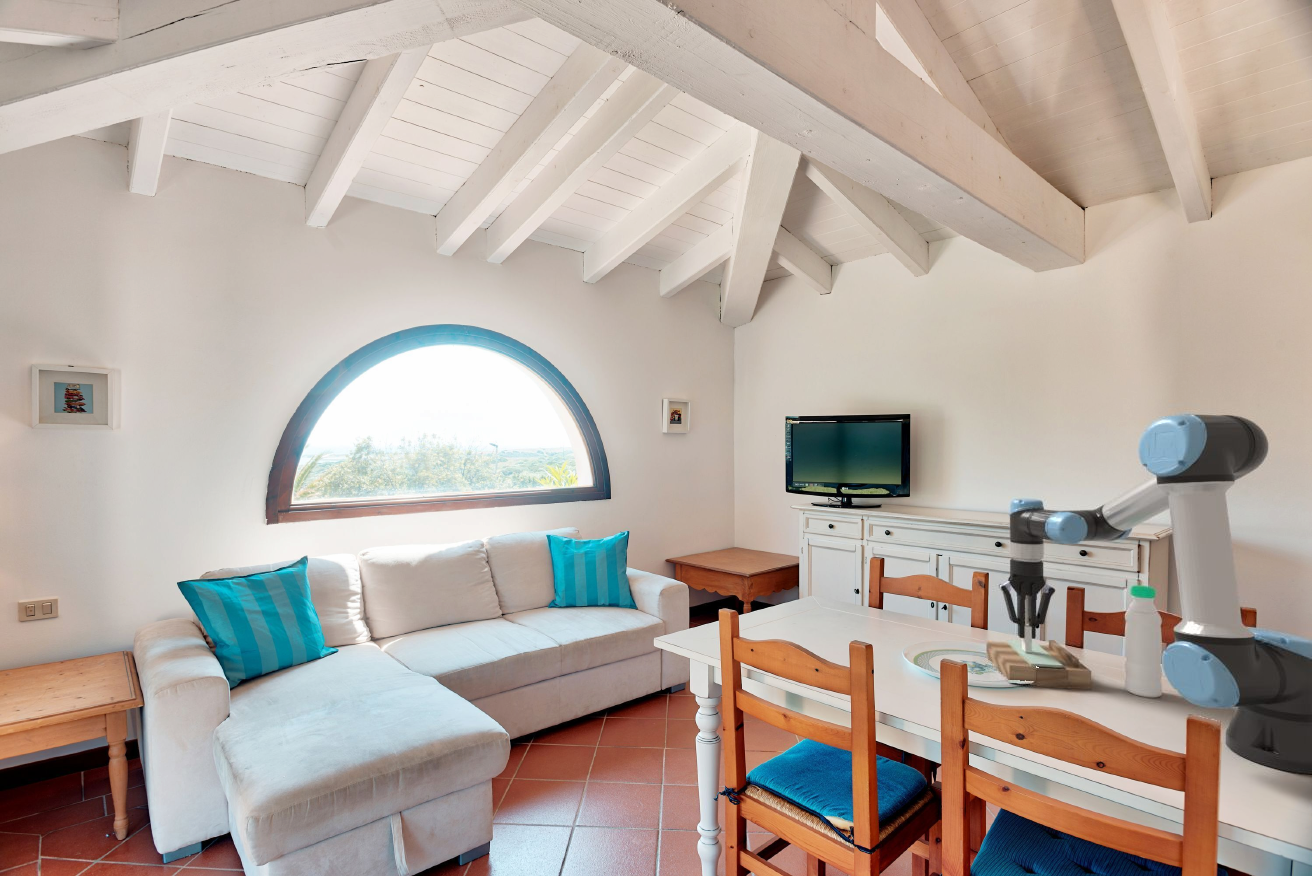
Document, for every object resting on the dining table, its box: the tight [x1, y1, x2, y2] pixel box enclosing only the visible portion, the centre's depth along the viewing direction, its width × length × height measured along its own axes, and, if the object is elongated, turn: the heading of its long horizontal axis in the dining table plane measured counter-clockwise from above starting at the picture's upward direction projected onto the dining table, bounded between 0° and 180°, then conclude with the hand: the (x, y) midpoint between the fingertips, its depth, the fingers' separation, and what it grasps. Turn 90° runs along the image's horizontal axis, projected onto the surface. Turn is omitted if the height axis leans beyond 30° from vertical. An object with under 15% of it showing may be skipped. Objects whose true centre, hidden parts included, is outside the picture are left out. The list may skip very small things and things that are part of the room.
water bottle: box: [1124, 585, 1163, 699], centre depth 157 cm, size 7×7×25 cm
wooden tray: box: [985, 639, 1092, 690], centre depth 171 cm, size 21×18×6 cm
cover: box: [1006, 640, 1065, 669], centre depth 171 cm, size 19×8×1 cm, turn 168°
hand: (1026, 650), depth 171 cm, fingers closed
